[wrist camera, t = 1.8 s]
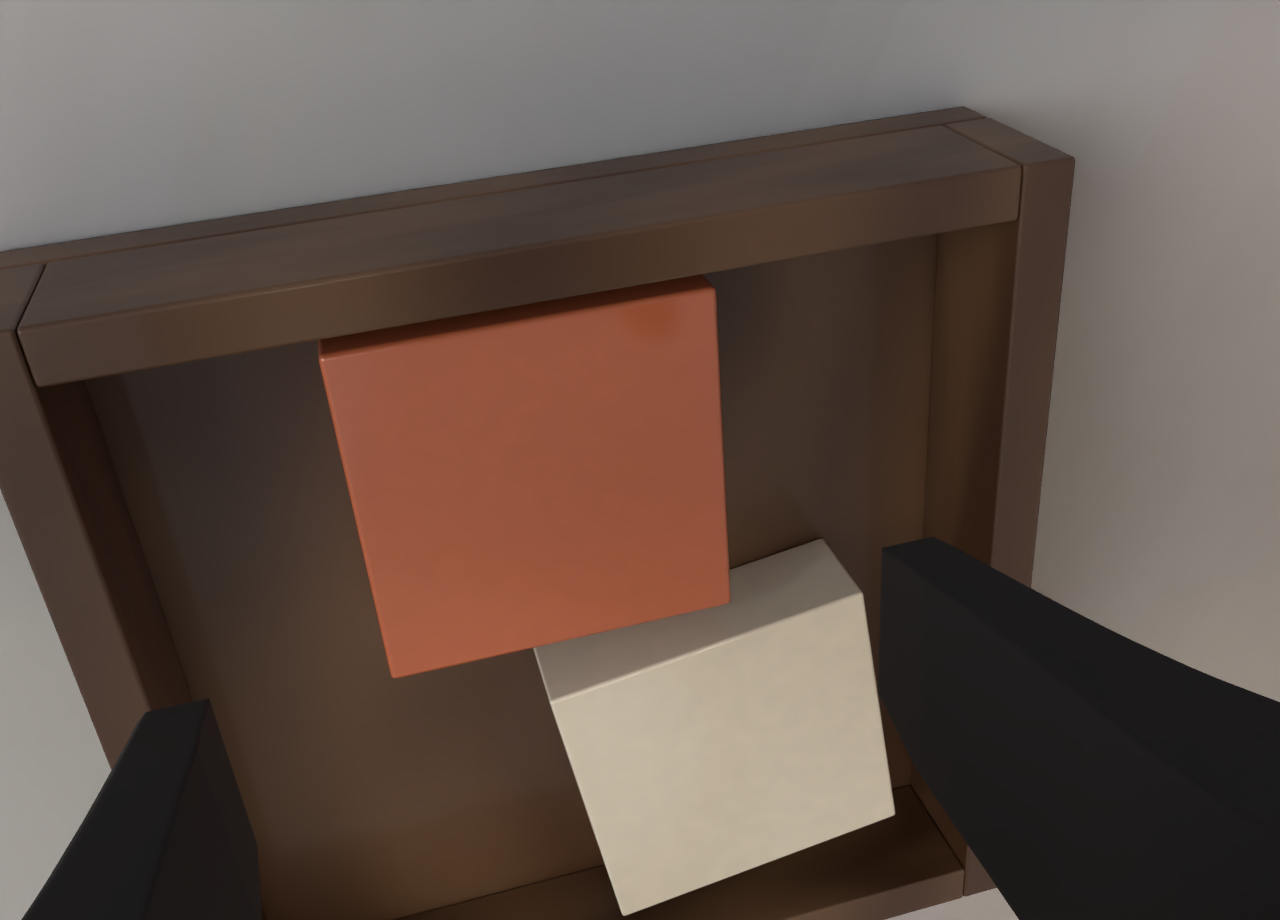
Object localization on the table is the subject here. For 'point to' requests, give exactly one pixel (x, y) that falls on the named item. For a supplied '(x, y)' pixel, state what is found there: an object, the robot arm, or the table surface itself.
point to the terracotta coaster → (535, 470)
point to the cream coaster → (725, 728)
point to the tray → (511, 683)
